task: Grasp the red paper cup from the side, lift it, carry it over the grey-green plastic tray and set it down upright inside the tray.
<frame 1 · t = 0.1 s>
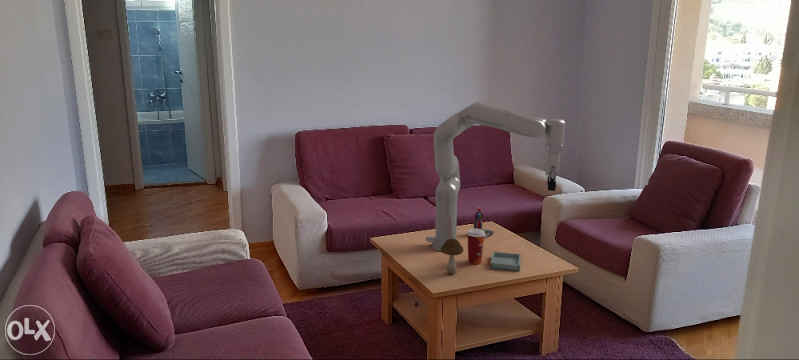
hand: (551, 187, 251), 31 cm above the table, fingers open, 9 cm apart
paper cup: (474, 262, 251), on the table
tray: (505, 263, 249), on the table
statue: (480, 235, 286), on the table
mushroom: (451, 273, 238), on the table
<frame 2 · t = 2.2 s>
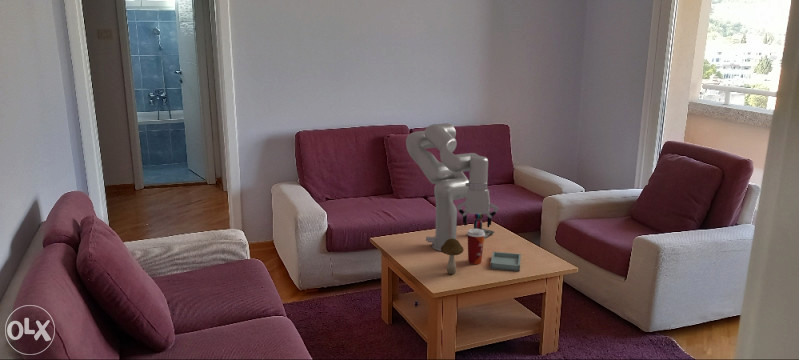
hand: (476, 225, 247), 16 cm above the table, fingers open, 9 cm apart
nothing on the table moved.
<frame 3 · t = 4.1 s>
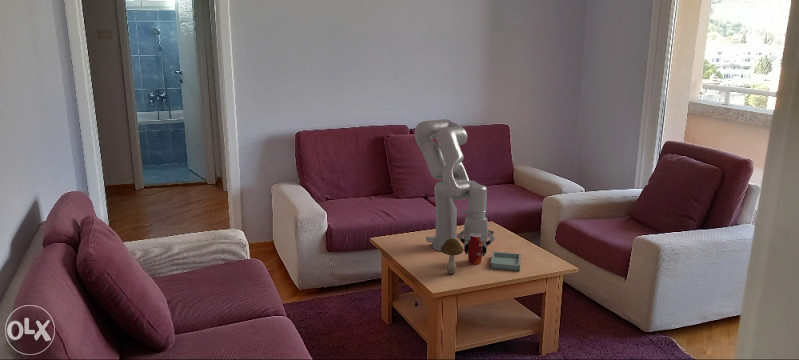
hand: (475, 253, 250), 4 cm above the table, fingers closed on paper cup, 6 cm apart
paper cup: (474, 262, 251), on the table, touching gripper
everything else where it was.
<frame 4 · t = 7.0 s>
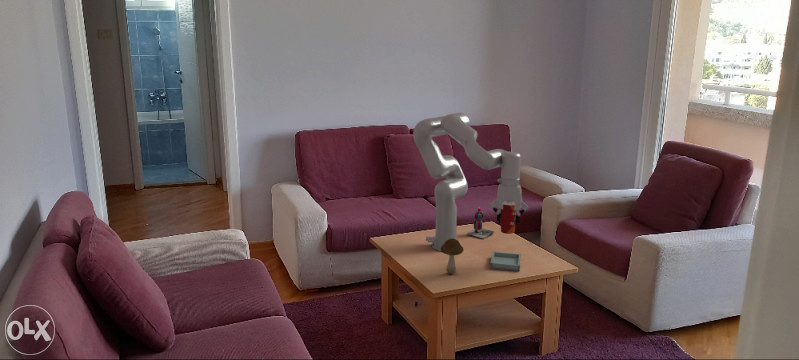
hand: (507, 223, 245), 18 cm above the table, fingers closed on paper cup, 6 cm apart
paper cup: (507, 232, 246), point 14 cm above the table, touching gripper
everything else where it was.
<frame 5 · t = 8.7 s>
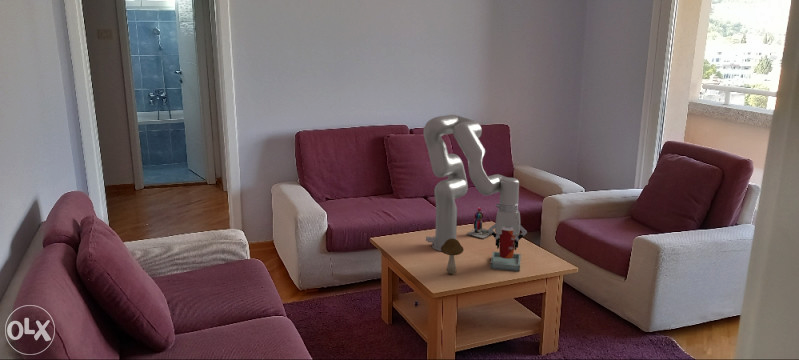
hand: (506, 247, 247), 7 cm above the table, fingers closed on paper cup, 6 cm apart
paper cup: (506, 256, 248), point 3 cm above the table, touching gripper
everything else where it was.
when the fingers open (6 cm above the table, at t = 9.9 s): paper cup drops 2 cm, resting on tray.
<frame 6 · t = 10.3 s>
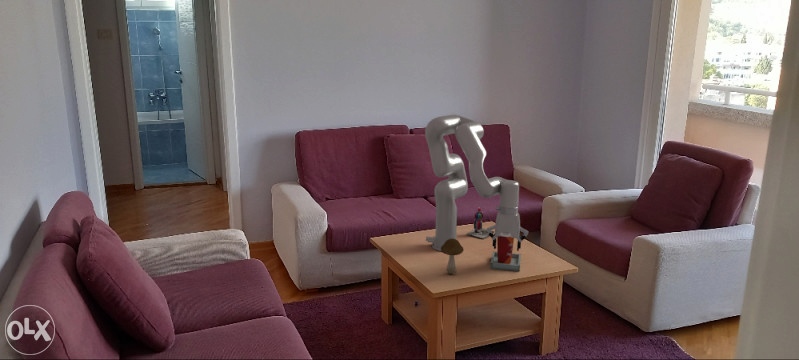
hand: (506, 248, 247), 7 cm above the table, fingers open, 9 cm apart
paper cup: (504, 262, 249), point 1 cm above the table, touching tray
everything else where it was.
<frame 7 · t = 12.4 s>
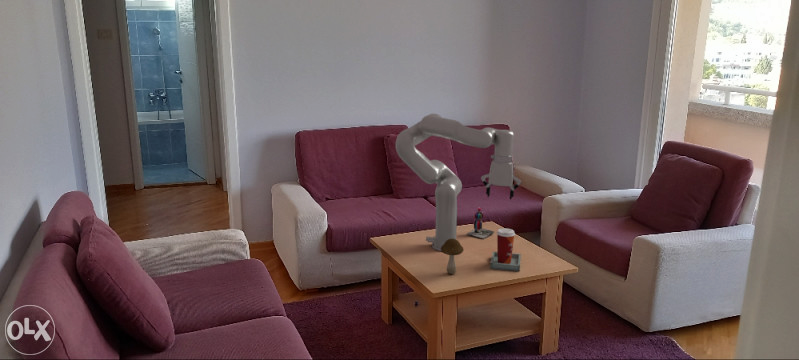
hand: (499, 197, 255), 26 cm above the table, fingers open, 9 cm apart
nothing on the table moved.
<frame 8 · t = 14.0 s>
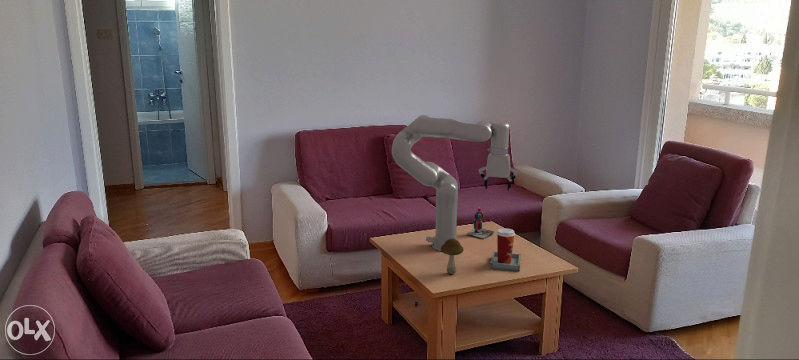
hand: (497, 188, 260), 28 cm above the table, fingers open, 9 cm apart
nothing on the table moved.
at the end: paper cup inside the target area on the tray (0.6 cm from its centre), point 0.6 cm above the tray's base; paper cup tilted 0°; the gripper is holding nothing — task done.
